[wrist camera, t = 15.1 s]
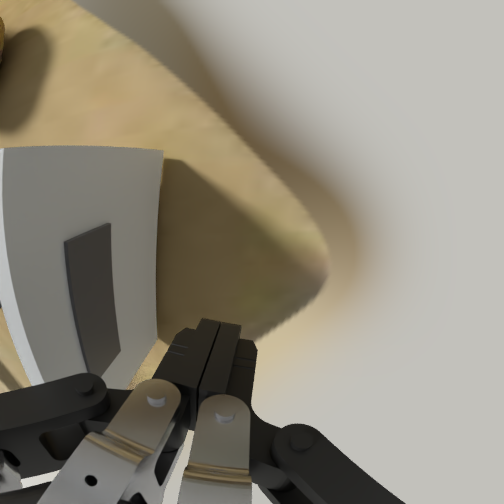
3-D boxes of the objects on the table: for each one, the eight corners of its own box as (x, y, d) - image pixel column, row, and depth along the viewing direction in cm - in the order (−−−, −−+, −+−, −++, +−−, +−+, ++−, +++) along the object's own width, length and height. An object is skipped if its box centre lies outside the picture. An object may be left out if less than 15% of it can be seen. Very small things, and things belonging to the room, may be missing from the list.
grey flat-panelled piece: (159, 340, 19) (88, 457, 8) (29, 294, 20) (-47, 350, 9) (166, 150, 15) (7, 147, 4) (19, 153, 16) (-84, 171, 5)
